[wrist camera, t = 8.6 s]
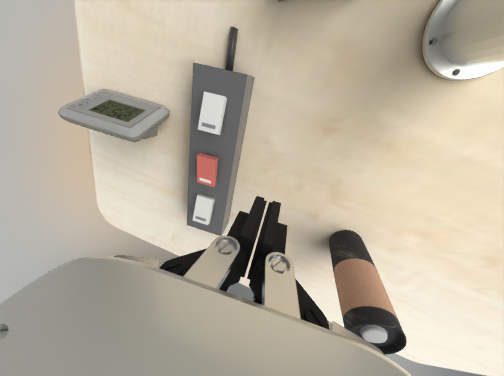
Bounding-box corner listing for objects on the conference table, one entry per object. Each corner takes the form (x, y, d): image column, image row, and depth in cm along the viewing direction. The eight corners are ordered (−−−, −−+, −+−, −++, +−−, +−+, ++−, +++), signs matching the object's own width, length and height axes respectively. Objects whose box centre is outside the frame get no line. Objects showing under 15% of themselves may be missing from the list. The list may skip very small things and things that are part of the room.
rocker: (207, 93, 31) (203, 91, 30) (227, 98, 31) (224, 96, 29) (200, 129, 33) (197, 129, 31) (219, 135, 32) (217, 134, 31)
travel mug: (326, 252, 46) (342, 348, 29) (329, 227, 43) (349, 319, 26) (360, 255, 44) (399, 360, 27) (366, 230, 41) (415, 330, 24)
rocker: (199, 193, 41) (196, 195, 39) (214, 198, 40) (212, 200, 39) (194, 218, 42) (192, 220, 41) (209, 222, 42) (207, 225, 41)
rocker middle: (200, 152, 35) (196, 155, 34) (217, 157, 35) (215, 160, 34) (199, 179, 38) (196, 182, 37) (216, 184, 38) (213, 187, 37)
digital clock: (175, 110, 39) (136, 115, 30) (167, 148, 43) (131, 162, 34) (106, 74, 39) (45, 67, 29) (105, 115, 43) (52, 121, 34)
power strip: (208, 24, 31) (194, 12, 27) (261, 35, 30) (255, 24, 26) (196, 213, 50) (186, 224, 46) (228, 223, 49) (221, 236, 45)
